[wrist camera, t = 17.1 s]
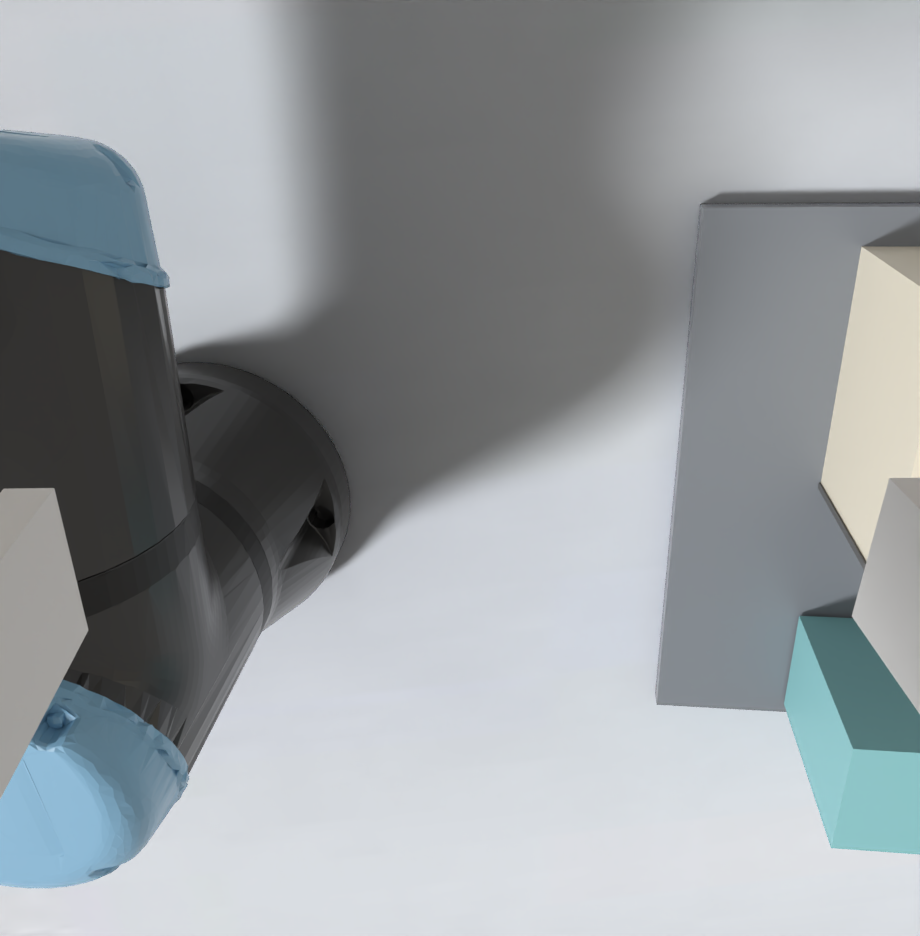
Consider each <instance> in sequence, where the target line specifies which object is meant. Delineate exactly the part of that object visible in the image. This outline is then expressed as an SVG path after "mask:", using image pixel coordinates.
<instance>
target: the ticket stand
mask: <svg viewBox="0 0 920 936" xmlns="http://www.w3.org/2000/svg"><path fill="white" fill-rule="evenodd" d="M889 478H920V203H820V204H700V215H699V226H698V237H697V248H696V258H695V269H694V280H693V291H692V302H691V312H690V323H689V334H688V345H687V356H686V366H685V377H684V388H683V399H682V410H681V421H680V431H679V442H678V453H677V464H676V475H675V485H674V496H673V507H672V518H671V529H670V539H669V550H668V561H667V572H666V583H665V593H664V604H663V615H662V626H661V637H660V647H659V658H658V669H657V680H656V691H655V695H656V703H657V705H673V706H691V707H709V708H727V709H745V710H762V711H780V712H786V708H785V705H784V701H785V695H786V689H787V683H788V678H789V672H790V666H791V660H792V654H793V649H794V643H795V637H796V631H797V626H798V620H799V616H816V617H838V618H853V617H852V613H853V609H854V606H855V602H856V598H857V595H858V591H859V587H860V584H861V580H862V576H863V573H864V569H865V565H866V562H867V558H868V554H869V551H870V547H871V544H872V540H873V536H874V533H875V529H876V525H877V522H878V518H879V514H880V511H881V507H882V503H883V500H884V496H885V492H886V489H887V485H888V481H889Z"/></svg>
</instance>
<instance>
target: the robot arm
mask: <svg viewBox="0 0 920 936" xmlns="http://www.w3.org/2000/svg"><path fill="white" fill-rule="evenodd" d="M167 287H170V283H169V276H168V275H167V273H166V272H165V271H164V270H163V269H162V268H161V267H160V263H159V258H158V253H157V249H156V244H155V239H154V234H153V230H152V225H151V220H150V215H149V211H148V206H147V201H146V196H145V192H144V188H143V185H142V183H141V180H140V178H139V176H138V175H137V173H136V171H135V170H134V169H133V167H132V166H131V165H130V164H129V162H128V161H127V160H126V159H125V158H124V157H123V156H121V155H120V154H119V153H117V152H116V151H115V150H113V149H111V148H110V147H108V146H106V145H104V144H102V143H99V142H97V141H94V140H90V139H84V138H78V137H72V136H64V135H55V134H44V133H34V132H22V131H11V130H0V885H3V886H10V887H20V888H58V887H67V886H73V885H78V884H82V883H86V882H89V881H93V880H95V879H98V878H100V877H102V876H105V875H107V874H109V873H111V872H113V871H114V870H116V869H117V868H118V867H119V866H120V865H121V864H123V863H126V862H127V861H129V860H131V859H133V858H134V857H135V856H136V855H137V854H138V853H139V852H140V851H141V850H142V849H143V848H144V847H145V845H146V844H147V843H148V841H149V840H150V838H151V837H152V835H153V834H154V832H155V831H156V830H157V828H158V827H159V825H160V824H161V822H162V821H163V819H164V818H165V816H166V815H167V814H168V812H169V811H170V809H171V808H172V806H173V805H174V803H176V802H177V801H178V800H179V799H180V798H181V795H182V793H183V792H184V790H185V788H186V787H187V785H188V784H187V782H188V780H189V776H188V774H189V772H190V771H191V769H192V767H193V765H194V763H195V761H196V759H197V757H198V755H199V753H200V751H201V749H202V747H203V745H204V743H205V741H206V739H207V737H208V735H209V734H210V732H211V730H212V728H213V726H214V724H215V722H216V720H217V718H218V716H219V714H220V712H221V710H222V708H223V706H224V704H225V702H226V700H227V698H228V697H229V695H230V693H231V691H232V689H233V687H234V685H235V683H236V681H237V679H238V677H239V675H240V673H241V671H242V669H243V667H244V665H245V663H246V661H247V660H248V658H249V656H250V654H251V652H252V650H253V648H254V646H255V644H256V641H257V639H258V637H259V636H260V634H261V632H262V631H264V630H265V629H266V628H268V627H269V626H270V625H272V624H273V623H275V622H276V621H277V620H279V619H280V618H282V617H283V616H284V615H286V614H287V613H289V612H290V611H291V610H293V609H294V608H295V607H297V606H298V605H300V604H301V603H302V602H304V601H305V600H306V599H307V598H308V597H309V596H310V595H311V594H312V593H313V592H314V591H315V590H316V589H317V588H318V587H319V585H320V584H321V583H322V582H323V580H324V579H325V578H326V576H327V575H328V573H329V571H330V569H331V568H332V566H333V563H334V561H335V559H336V557H337V555H338V553H339V550H340V548H341V546H342V544H343V541H344V538H345V536H346V532H347V528H348V523H349V515H350V495H349V487H348V482H347V478H346V474H345V470H344V467H343V464H342V462H341V459H340V457H339V455H338V453H337V451H336V449H335V447H334V445H333V443H332V442H331V440H330V438H329V437H328V435H327V434H326V432H325V431H324V429H323V428H322V427H321V425H320V424H319V423H318V422H317V420H316V419H315V418H314V417H313V416H312V415H311V414H310V413H309V412H308V411H307V410H306V409H305V408H304V407H303V406H302V405H301V404H300V403H299V402H297V401H296V400H295V399H294V398H293V397H291V396H290V395H288V394H287V393H286V392H284V391H283V390H281V389H280V388H278V387H276V386H275V385H273V384H271V383H270V382H268V381H266V380H264V379H262V378H260V377H257V376H255V375H253V374H250V373H248V372H245V371H242V370H239V369H235V368H232V367H227V366H223V365H217V364H210V363H180V364H177V362H176V356H175V349H174V343H173V336H172V330H171V323H170V317H169V310H168V304H167V297H166V291H165V288H167ZM852 617H853V619H854V620H855V622H856V623H857V625H858V626H859V628H860V629H861V630H862V632H863V633H864V635H865V636H866V638H867V639H868V641H869V642H870V643H871V645H872V646H873V648H874V649H875V651H876V652H877V653H878V655H879V656H880V658H881V659H882V661H883V662H884V664H885V665H886V666H887V668H888V669H889V671H890V672H891V674H892V675H893V677H894V678H895V679H896V681H897V682H898V684H899V685H900V687H901V688H902V690H903V691H904V692H905V694H906V695H907V697H908V698H909V700H910V701H911V702H912V704H913V705H914V707H915V708H916V710H917V711H918V713H919V714H920V478H889V481H888V485H887V489H886V492H885V496H884V500H883V503H882V507H881V511H880V514H879V518H878V522H877V525H876V529H875V533H874V536H873V540H872V544H871V547H870V551H869V554H868V558H867V562H866V565H865V569H864V573H863V576H862V580H861V584H860V587H859V591H858V595H857V598H856V602H855V606H854V609H853V613H852Z"/></svg>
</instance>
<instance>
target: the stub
mask: <svg viewBox="0 0 920 936" xmlns="http://www.w3.org/2000/svg"><path fill="white" fill-rule="evenodd" d="M784 705H785V708H786V712H787V715H788V718H789V721H790V724H791V727H792V730H793V733H794V736H795V739H796V742H797V745H798V748H799V751H800V754H801V757H802V760H803V764H804V767H805V770H806V773H807V776H808V779H809V782H810V785H811V788H812V791H813V794H814V797H815V800H816V803H817V806H818V809H819V812H820V815H821V819H822V822H823V825H824V828H825V831H826V834H827V837H828V840H829V843H830V846H831V848H838V849H852V850H866V851H880V852H894V853H908V854H920V714H919V713H918V711H917V710H916V708H915V707H914V705H913V704H912V702H911V701H910V700H909V698H908V697H907V695H906V694H905V692H904V691H903V690H902V688H901V687H900V685H899V684H898V682H897V681H896V679H895V678H894V677H893V675H892V674H891V672H890V671H889V669H888V668H887V666H886V665H885V664H884V662H883V661H882V659H881V658H880V656H879V655H878V653H877V652H876V651H875V649H874V648H873V646H872V645H871V643H870V642H869V641H868V639H867V638H866V636H865V635H864V633H863V632H862V630H861V629H860V628H859V626H858V625H857V623H856V622H855V620H854V619H853V618H838V617H816V616H799V620H798V626H797V631H796V637H795V643H794V649H793V654H792V660H791V666H790V672H789V678H788V683H787V689H786V695H785V701H784Z"/></svg>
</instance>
